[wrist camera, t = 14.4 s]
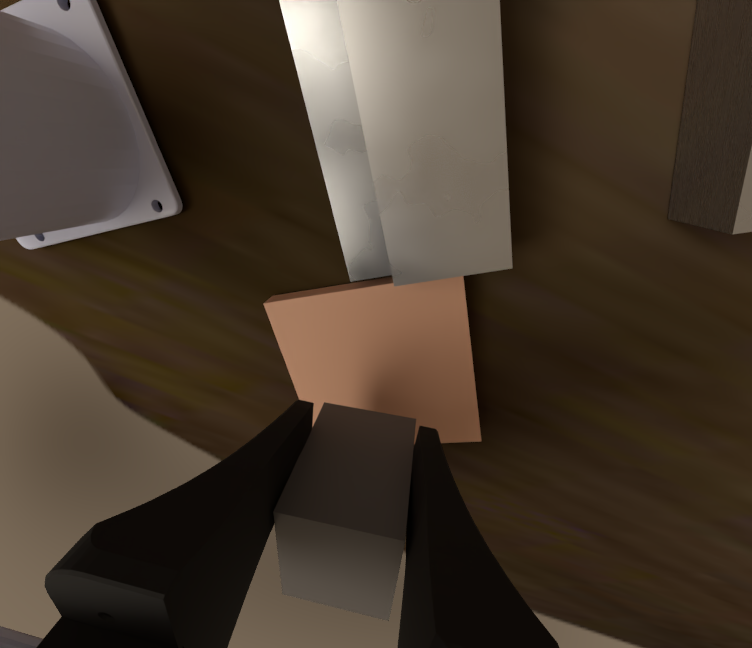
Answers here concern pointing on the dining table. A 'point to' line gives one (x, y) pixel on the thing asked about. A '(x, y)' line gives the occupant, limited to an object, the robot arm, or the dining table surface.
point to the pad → (383, 351)
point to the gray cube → (347, 511)
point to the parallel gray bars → (479, 129)
